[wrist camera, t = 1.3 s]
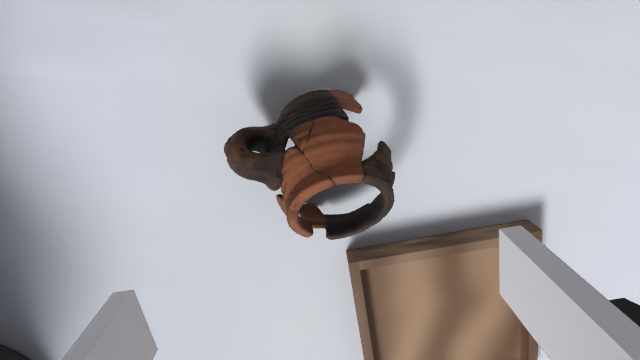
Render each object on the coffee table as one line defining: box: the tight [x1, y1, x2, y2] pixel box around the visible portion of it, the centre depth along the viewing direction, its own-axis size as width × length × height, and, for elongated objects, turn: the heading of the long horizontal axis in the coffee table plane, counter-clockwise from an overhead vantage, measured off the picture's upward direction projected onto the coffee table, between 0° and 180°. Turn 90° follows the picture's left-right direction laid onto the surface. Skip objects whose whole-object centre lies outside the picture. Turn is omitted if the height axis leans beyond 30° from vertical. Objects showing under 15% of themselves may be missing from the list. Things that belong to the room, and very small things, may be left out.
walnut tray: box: [346, 220, 542, 360], centre depth 34 cm, size 16×17×2 cm
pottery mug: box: [224, 90, 395, 240], centre depth 27 cm, size 12×10×8 cm
